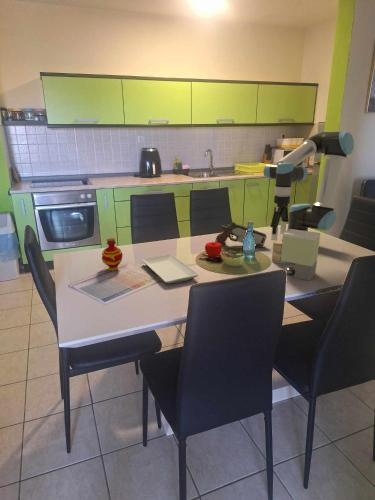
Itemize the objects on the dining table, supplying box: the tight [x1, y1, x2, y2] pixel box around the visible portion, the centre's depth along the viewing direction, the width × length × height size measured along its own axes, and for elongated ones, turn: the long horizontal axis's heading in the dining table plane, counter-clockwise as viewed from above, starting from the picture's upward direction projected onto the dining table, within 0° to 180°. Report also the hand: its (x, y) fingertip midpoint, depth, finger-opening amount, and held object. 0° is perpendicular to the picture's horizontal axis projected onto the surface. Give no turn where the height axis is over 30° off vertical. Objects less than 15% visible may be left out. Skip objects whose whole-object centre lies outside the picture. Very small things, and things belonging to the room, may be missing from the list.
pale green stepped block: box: [281, 229, 321, 282], centre depth 158 cm, size 10×15×20 cm
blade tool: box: [271, 240, 296, 267], centre depth 174 cm, size 4×15×10 cm, turn 58°
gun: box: [214, 221, 268, 249], centre depth 201 cm, size 5×27×15 cm, turn 79°
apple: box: [204, 241, 223, 259], centre depth 183 cm, size 9×9×8 cm
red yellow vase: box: [101, 237, 124, 272], centre depth 167 cm, size 10×10×15 cm
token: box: [283, 266, 295, 276], centre depth 162 cm, size 6×6×2 cm
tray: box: [141, 253, 199, 285], centre depth 164 cm, size 17×31×4 cm, turn 26°
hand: (278, 237), depth 174 cm, fingers open, 13 cm apart
